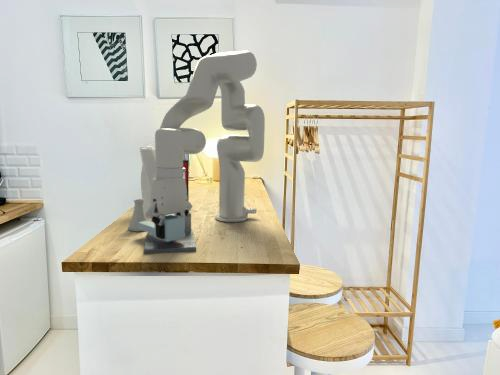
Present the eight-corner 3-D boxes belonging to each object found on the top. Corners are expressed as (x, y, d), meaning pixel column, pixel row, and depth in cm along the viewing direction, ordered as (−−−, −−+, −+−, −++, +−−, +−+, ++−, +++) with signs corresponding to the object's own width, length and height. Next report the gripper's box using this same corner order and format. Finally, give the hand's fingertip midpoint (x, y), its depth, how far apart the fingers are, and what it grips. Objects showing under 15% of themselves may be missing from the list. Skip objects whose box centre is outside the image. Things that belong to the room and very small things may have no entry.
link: (184, 237, 104) (184, 217, 103) (167, 241, 100) (166, 220, 99) (150, 225, 115) (150, 207, 114) (133, 229, 111) (133, 210, 110)
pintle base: (192, 232, 118) (192, 211, 117) (196, 251, 101) (196, 226, 100) (147, 234, 115) (147, 212, 114) (144, 253, 98) (143, 228, 97)
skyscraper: (159, 210, 148) (158, 141, 144) (164, 214, 142) (163, 142, 137) (139, 212, 144) (137, 141, 140) (143, 216, 138) (141, 142, 133)
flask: (142, 225, 126) (141, 196, 125) (155, 229, 122) (154, 200, 120) (124, 229, 121) (122, 199, 119) (136, 233, 116) (135, 203, 115)
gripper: (185, 169, 110) (185, 227, 113) (134, 174, 97) (136, 239, 100) (201, 172, 105) (201, 232, 108) (150, 177, 92) (152, 245, 95)
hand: (170, 234), depth 104 cm, fingers closed on link, 6 cm apart
